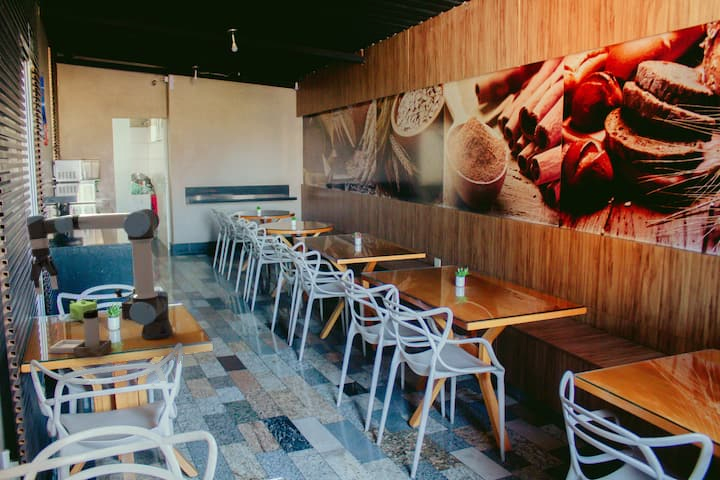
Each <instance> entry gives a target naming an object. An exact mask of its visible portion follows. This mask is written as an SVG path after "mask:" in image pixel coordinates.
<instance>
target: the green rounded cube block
mask: <svg viewBox="0 0 720 480" xmlns="http://www.w3.org/2000/svg"><path fill="white" fill-rule="evenodd" d="M97 301H98V299H94V300H93V301H87V300H85V299H83V300H80V301H79V302H78V301H77V302H75V301H73V300H70V304H69V313H70V315H69V316H70V319H71V320H74V322H80V321H81V322H84V319H83V313H84V312H86V311H90V310H98V302H97ZM81 322H80V323H81Z"/></svg>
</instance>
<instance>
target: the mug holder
mask: <svg viewBox="0 0 720 480" xmlns="http://www.w3.org/2000/svg"><path fill="white" fill-rule="evenodd" d="M111 349H113V347H112V339H100V347H85V341H83V342H82V343H80V344H79V345H77V346H76V347H74V353H73V357H74V358H75V357H76V358H77V357H78V358H79V357H81V358H82V357H84V358H85V357H88V358H89V357H91V358H92V357H94V358H95V357H98V358H99V357H103V356H104V355H106V354H107V352H109V351H110V350H111Z"/></svg>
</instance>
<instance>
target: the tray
mask: <svg viewBox="0 0 720 480" xmlns="http://www.w3.org/2000/svg"><path fill="white" fill-rule="evenodd" d="M83 341H85V339H61V340H60V341H58V342H56V343H55V344H53V345H52V346H50V347H49V350H48V351H49V354H74V347H76V346H77V345H79V344H80V343H82V342H83Z"/></svg>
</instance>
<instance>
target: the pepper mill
mask: <svg viewBox="0 0 720 480" xmlns="http://www.w3.org/2000/svg"><path fill="white" fill-rule="evenodd" d="M122 292H123V290H122V289H121V288H117V289H115V291H114V294H115V295H116V297H117V298H118V299H119V298H120V299H126V298H128V299H127V300H124V301H123V302H121V319H123V320H127V319H128V320H129V321H133V320H132V319H131V317H130V313H129V312H130V308H131V306H132V305H133V303H132V296H133V295H134V294H135V288H133V291H132V292H131V293H130V294H128V295H126V296H123V294H122Z"/></svg>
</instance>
